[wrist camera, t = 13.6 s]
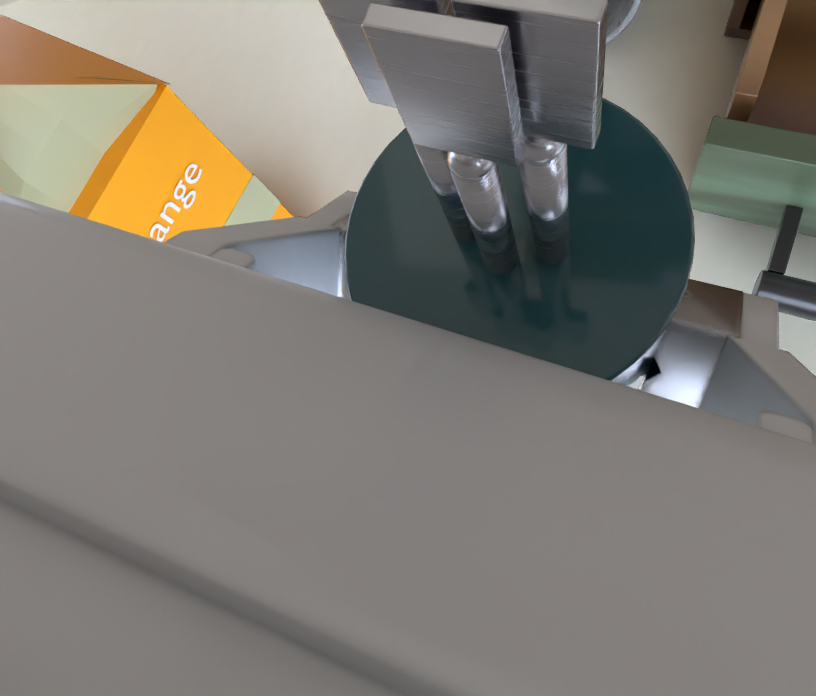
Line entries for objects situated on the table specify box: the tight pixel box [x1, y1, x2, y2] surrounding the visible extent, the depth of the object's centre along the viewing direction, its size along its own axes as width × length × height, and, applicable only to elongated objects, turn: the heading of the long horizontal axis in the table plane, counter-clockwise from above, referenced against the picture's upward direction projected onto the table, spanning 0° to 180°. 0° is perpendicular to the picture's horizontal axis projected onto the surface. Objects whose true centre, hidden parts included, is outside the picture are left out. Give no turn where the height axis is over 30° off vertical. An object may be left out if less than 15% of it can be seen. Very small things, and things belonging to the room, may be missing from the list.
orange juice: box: [0, 14, 293, 242], centre depth 27 cm, size 8×9×20 cm
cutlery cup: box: [319, 0, 695, 389], centre depth 11 cm, size 4×4×13 cm
